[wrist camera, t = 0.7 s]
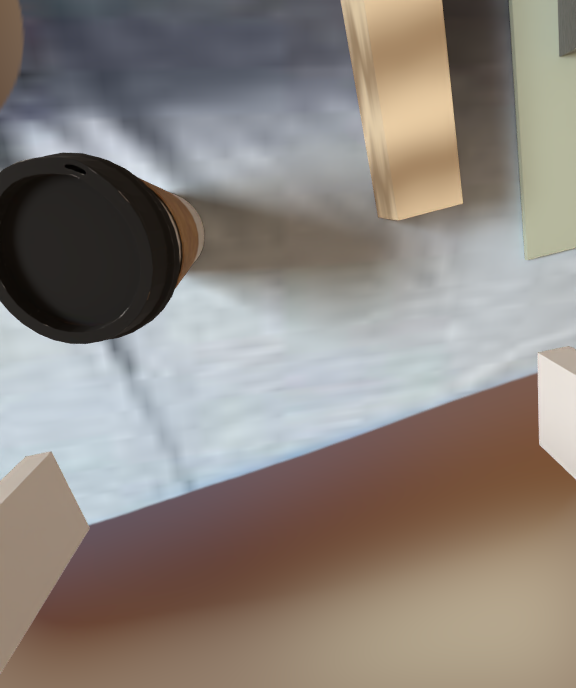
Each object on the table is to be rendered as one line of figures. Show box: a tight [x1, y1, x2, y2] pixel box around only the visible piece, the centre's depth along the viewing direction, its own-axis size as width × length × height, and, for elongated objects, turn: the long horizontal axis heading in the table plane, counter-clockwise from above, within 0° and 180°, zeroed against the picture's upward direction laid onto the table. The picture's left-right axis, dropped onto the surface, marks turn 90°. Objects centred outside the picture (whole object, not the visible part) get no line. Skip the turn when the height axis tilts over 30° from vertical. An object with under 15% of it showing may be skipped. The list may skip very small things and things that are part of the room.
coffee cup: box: [0, 153, 205, 344], centre depth 23 cm, size 8×8×15 cm
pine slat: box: [341, 0, 463, 220], centre depth 24 cm, size 18×4×6 cm, turn 14°
